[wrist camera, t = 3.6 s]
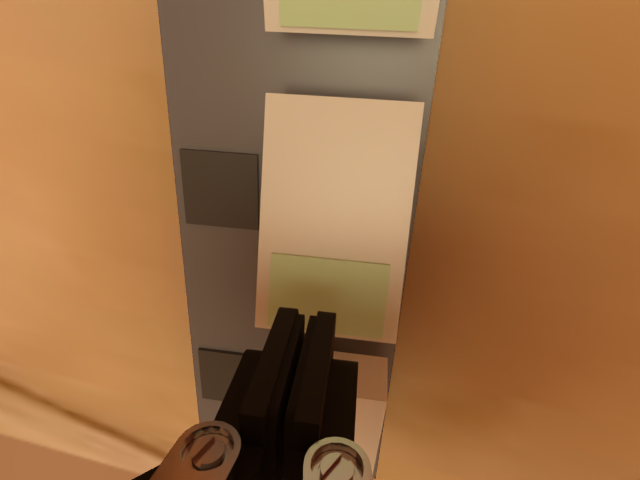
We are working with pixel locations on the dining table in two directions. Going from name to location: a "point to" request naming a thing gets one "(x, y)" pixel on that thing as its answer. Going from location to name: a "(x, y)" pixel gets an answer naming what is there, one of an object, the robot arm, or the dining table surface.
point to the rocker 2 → (369, 400)
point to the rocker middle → (336, 210)
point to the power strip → (257, 154)
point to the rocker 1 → (353, 17)
